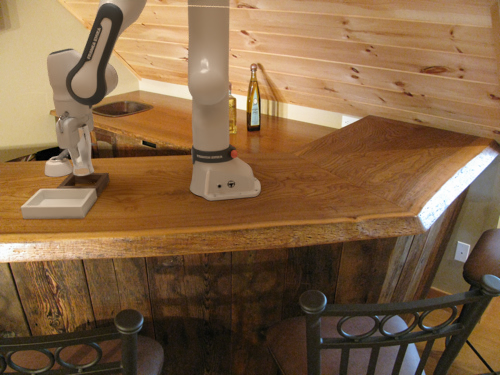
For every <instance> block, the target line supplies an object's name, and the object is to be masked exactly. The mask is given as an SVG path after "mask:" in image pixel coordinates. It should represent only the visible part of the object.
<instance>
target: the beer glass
mask: <svg viewBox="0 0 500 375" xmlns="http://www.w3.org/2000/svg"><path fill="white" fill-rule="evenodd" d="M84 125H85V126H84V127H80V128H77V129H78V130H79V136H80V142H78V143H77V147H76V148H77V151H79V155H80V156H79V158H77V159H73V158H72V155H71V152H70V151H69V149H68V151H69V155H70V158H71V162H72V167H73V172H72V173H73V174H74V175H75V176H87V175H91V174H93V173H95V169H94V166H93V163H92V145H91V143H92V138H91V134H90V133H91V132H90V133H89V129H88V125H87V124H86V123H84Z"/></svg>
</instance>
